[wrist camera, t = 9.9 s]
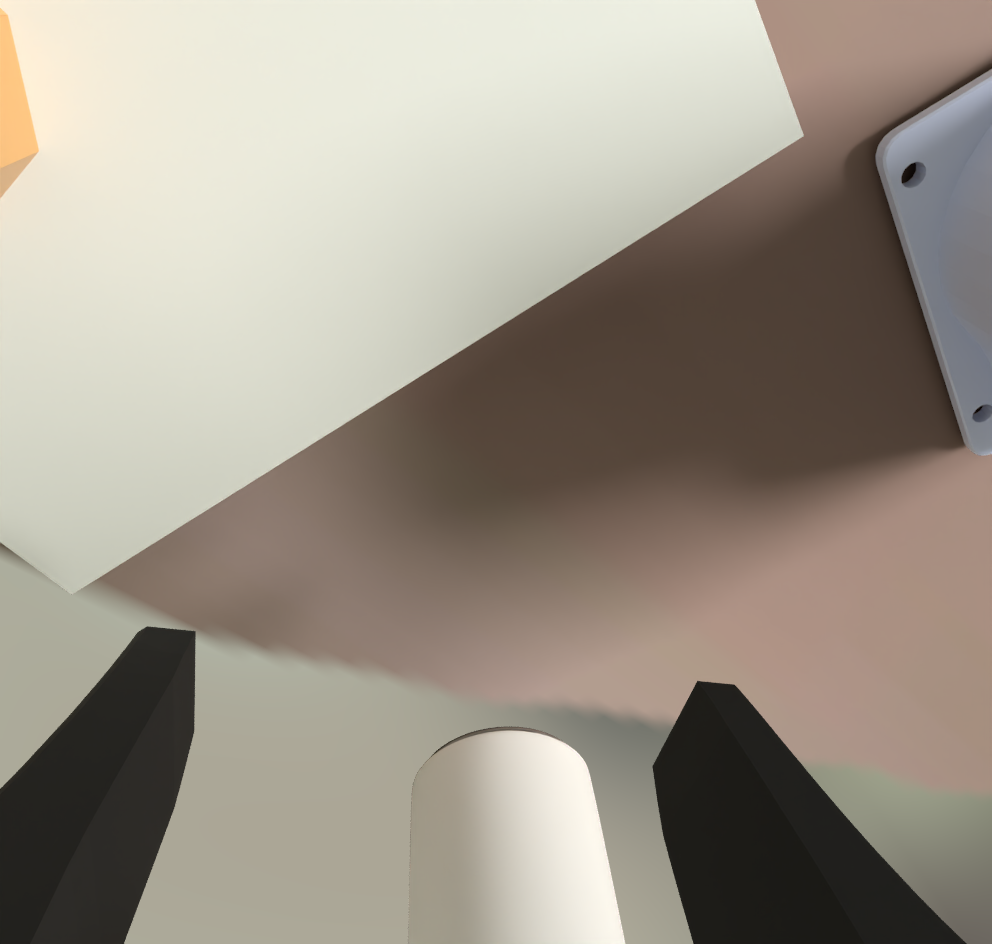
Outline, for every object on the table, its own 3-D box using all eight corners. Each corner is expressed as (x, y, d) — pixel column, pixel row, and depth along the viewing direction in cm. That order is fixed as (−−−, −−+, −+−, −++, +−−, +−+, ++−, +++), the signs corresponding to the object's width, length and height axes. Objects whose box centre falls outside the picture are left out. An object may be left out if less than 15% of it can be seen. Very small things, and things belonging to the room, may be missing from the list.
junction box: (743, 110, 16) (893, 172, 11) (116, 517, 20) (11, 698, 15) (290, -1023, 9) (97, -2437, 4) (-525, -16, 13) (-1131, -15, 8)
